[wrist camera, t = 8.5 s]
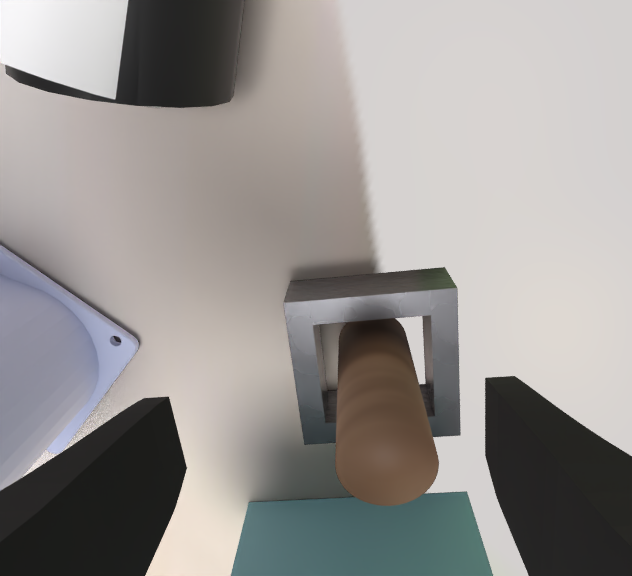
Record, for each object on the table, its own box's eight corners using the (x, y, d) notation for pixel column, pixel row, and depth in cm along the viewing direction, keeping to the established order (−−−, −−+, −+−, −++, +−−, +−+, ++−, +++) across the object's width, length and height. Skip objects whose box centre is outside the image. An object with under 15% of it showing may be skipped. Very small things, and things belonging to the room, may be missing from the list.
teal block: (251, 517, 26) (188, 791, 15) (235, 434, 24) (151, 680, 14) (467, 507, 25) (553, 793, 14) (465, 419, 23) (562, 674, 13)
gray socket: (308, 410, 23) (304, 444, 21) (290, 281, 21) (283, 303, 19) (448, 401, 23) (460, 435, 20) (444, 267, 21) (457, 288, 18)
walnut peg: (325, 346, 22) (314, 469, 15) (368, 298, 21) (381, 403, 14) (376, 384, 23) (391, 521, 15) (421, 338, 22) (460, 461, 14)
